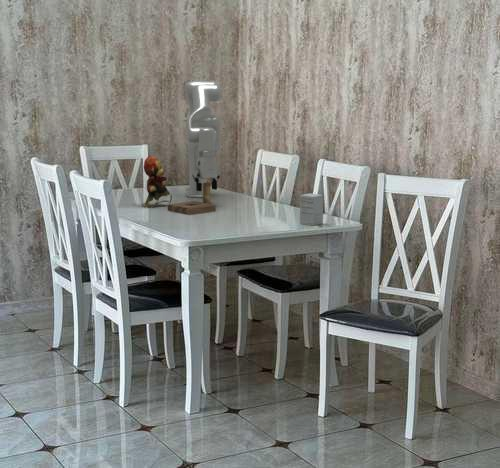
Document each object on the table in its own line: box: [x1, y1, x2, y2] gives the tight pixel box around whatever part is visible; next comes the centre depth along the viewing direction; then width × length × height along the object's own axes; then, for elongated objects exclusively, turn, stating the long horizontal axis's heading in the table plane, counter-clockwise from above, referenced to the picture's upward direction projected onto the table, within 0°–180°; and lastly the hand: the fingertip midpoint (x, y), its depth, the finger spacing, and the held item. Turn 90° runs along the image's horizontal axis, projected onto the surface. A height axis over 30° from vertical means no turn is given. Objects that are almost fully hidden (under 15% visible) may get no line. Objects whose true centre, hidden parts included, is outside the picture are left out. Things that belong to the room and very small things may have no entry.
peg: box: [202, 182, 211, 204], centre depth 396 cm, size 4×4×12 cm
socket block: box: [167, 200, 217, 216], centre depth 387 cm, size 16×16×3 cm
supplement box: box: [299, 192, 324, 226], centre depth 353 cm, size 7×7×13 cm
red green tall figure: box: [143, 155, 172, 208], centre depth 400 cm, size 15×17×25 cm
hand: (206, 190), depth 395 cm, fingers open, 9 cm apart
